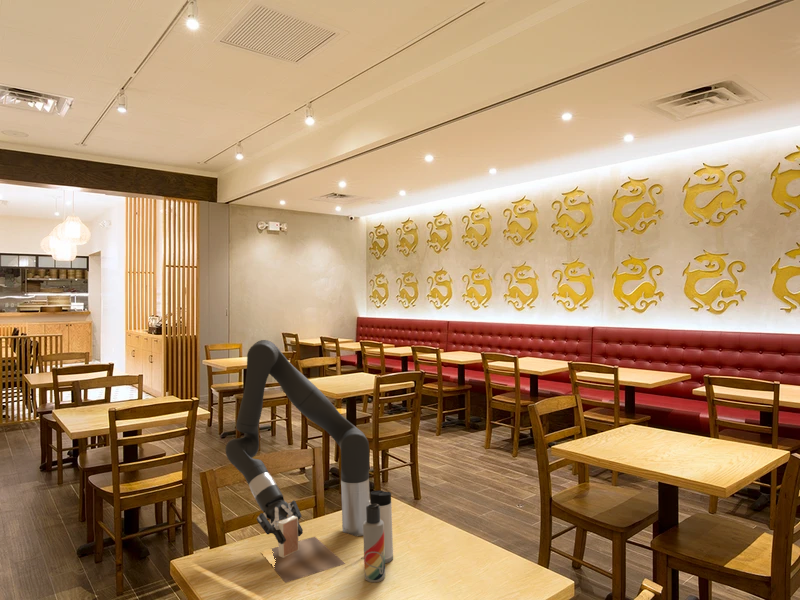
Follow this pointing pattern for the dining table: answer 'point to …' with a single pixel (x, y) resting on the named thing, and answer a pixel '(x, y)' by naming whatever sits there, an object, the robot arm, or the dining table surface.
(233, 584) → the dining table surface
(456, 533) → the dining table surface
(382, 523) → the lotion bottle
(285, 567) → the cloth
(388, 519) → the travel mug
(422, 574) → the dining table surface
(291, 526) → the tile
